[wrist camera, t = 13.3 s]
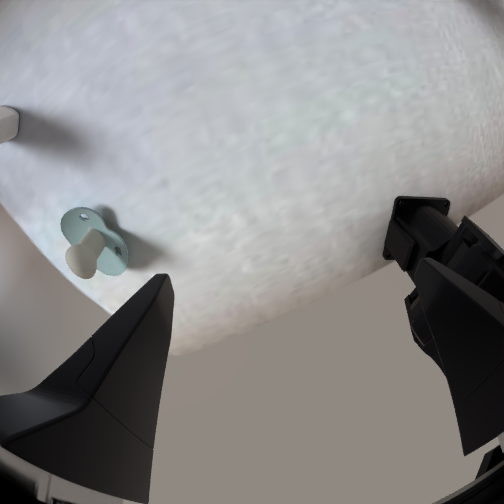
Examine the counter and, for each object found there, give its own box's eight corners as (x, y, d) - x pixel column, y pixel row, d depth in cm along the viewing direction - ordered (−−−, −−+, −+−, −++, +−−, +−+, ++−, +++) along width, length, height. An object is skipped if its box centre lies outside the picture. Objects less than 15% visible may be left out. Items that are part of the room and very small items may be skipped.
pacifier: (108, 275, 26) (142, 246, 24) (84, 321, 21) (119, 296, 19) (58, 226, 22) (87, 189, 20) (24, 266, 17) (47, 228, 15)
